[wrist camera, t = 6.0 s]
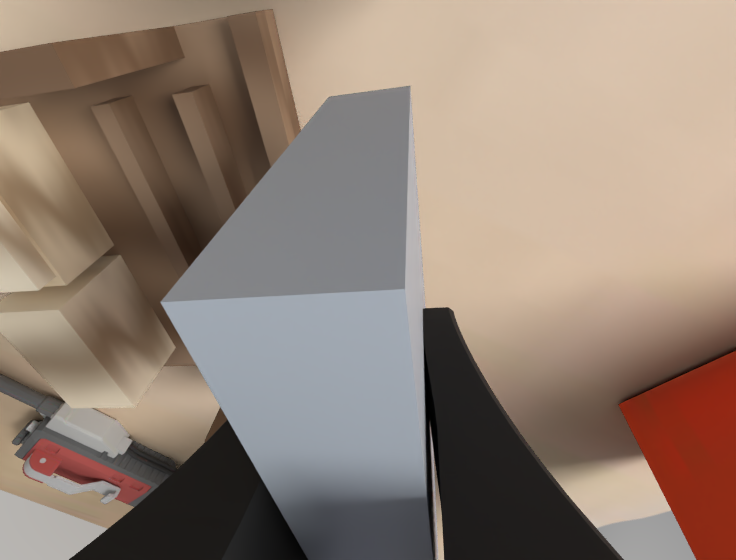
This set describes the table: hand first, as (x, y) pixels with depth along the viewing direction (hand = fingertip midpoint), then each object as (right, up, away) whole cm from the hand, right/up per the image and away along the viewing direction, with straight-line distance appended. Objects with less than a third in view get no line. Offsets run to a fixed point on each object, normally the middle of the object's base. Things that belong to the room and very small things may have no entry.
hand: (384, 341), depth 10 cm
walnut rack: (-11, +4, +11) cm, 16 cm away
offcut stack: (-16, +3, +11) cm, 20 cm away
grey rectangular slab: (0, +2, +3) cm, 3 cm away
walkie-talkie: (-26, -11, +25) cm, 37 cm away
